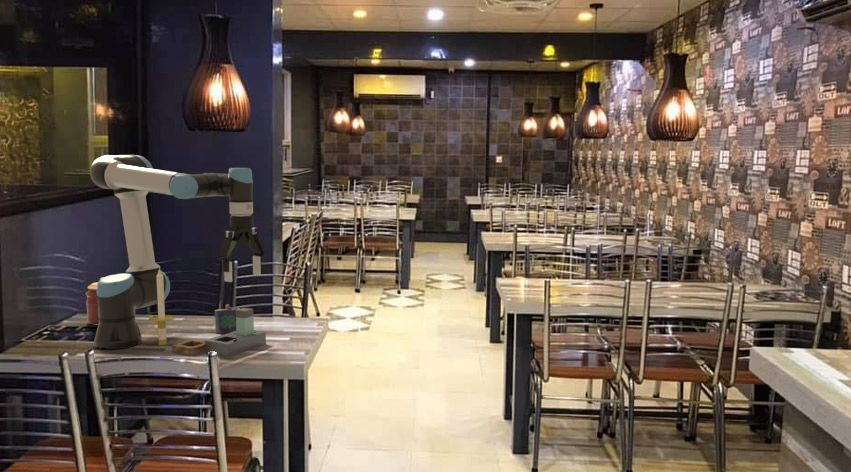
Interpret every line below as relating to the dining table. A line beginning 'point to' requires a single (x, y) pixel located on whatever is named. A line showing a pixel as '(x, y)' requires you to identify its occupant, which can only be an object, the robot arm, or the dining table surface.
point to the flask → (225, 320)
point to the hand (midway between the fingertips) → (243, 278)
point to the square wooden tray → (189, 347)
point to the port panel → (234, 343)
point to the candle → (161, 311)
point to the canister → (92, 304)
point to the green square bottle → (244, 321)
